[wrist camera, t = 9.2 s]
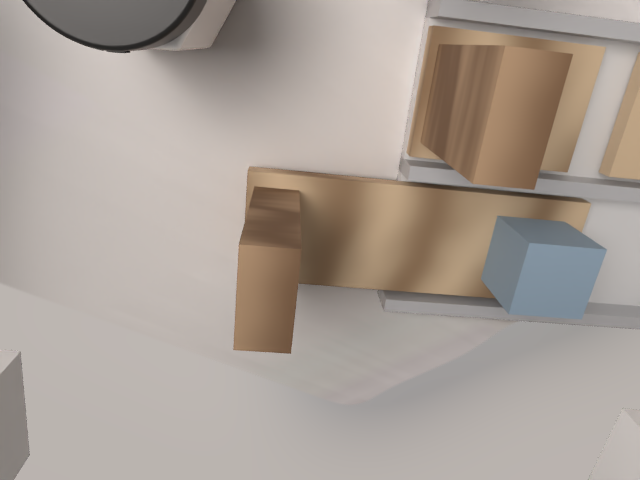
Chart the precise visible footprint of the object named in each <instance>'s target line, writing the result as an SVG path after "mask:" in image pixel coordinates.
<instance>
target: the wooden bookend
mask: <svg viewBox="0 0 640 480" xmlns="http://www.w3.org/2000/svg"><path fill="white" fill-rule="evenodd" d="M605 49H606V47H602V46H594V45H586V44H578V43H570V42H562V41H554V40H546V39H538V38H530V37H522V36H514V35H506V34H498V33H490V32H483V31H475V30H467V29H459V28H451V27H443V26H435V25H433V26H429V28H428V34H427V40H426V45H425V51H424V56H423V62H422V67H421V73H420V79H419V84H418V90H417V95H416V101H415V107H414V112H413V118H412V123H411V129H410V135H409V140H408V146H407V151H406V153H407V154H408V155H409V156H410V157H418V158H428V159H438V160H443V161H444V162H446V163H447V164H448V165H449V166H451V167H452V168H453V169H455V170H456V171H457V172H458V173H460V174H461V175H462V176H463V177H465V178H466V179H467V180H468V181H470V182H471V183H472V184H478V185H489V186H499V187H510V188H520V189H530V190H534V189H535V186H536V182H537V179H538V175H539V172H540V170H547V171H557V172H568V169H569V166H570V163H571V160H572V156H573V153H574V150H575V147H576V143H577V140H578V137H579V134H580V130H581V127H582V124H583V121H584V117H585V114H586V111H587V108H588V105H589V101H590V98H591V95H592V92H593V88H594V85H595V82H596V79H597V75H598V72H599V69H600V66H601V62H602V59H603V56H604V53H605Z"/></svg>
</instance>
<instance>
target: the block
mask: <svg viewBox="0 0 640 480" xmlns="http://www.w3.org/2000/svg"><path fill="white" fill-rule="evenodd" d="M606 251H607V249H605V248H604V247H602V246H601V245H599V244H598V243H596V242H595V241H593V240H592V239H590V238H589V237H587V236H586V235H584V234H583V233H581V232H580V231H578V230H577V229H575V228H574V227H572V226H571V225H569V224H568V223H566V222H563V221H552V220H541V219H530V218H519V217H508V216H497V219H496V223H495V227H494V230H493V234H492V238H491V242H490V246H489V250H488V253H487V257H486V261H485V265H484V269H483V272H482V276H481V280H482V281H483V283H484V284H485V285H486V286H487V288H488V289H489V290H490V291H491V293H492V294H493V295H494V296H495V298H496V299H497V300H498V302H499V303H500V304H501V305H502V307H503V308H504V309H505V310H506V312H507V313H508V314H512V315H526V316H540V317H553V318H567V319H581V320H582V318H583V315H584V312H585V309H586V306H587V304H588V301H589V298H590V295H591V293H592V290H593V287H594V284H595V282H596V279H597V276H598V273H599V271H600V268H601V265H602V262H603V260H604V257H605V254H606Z"/></svg>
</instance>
